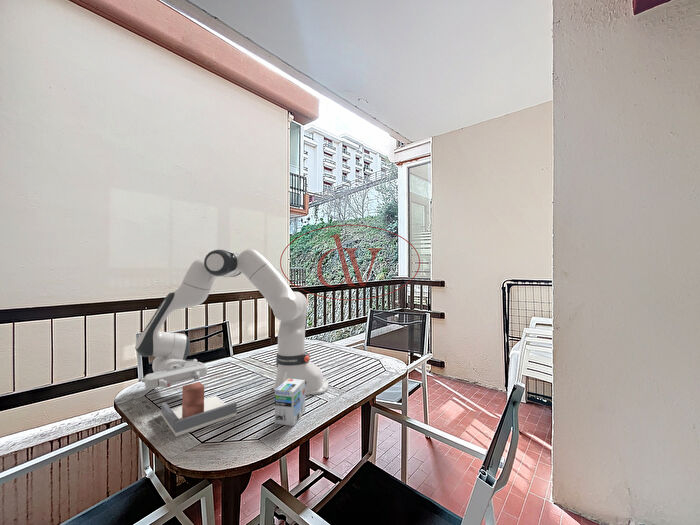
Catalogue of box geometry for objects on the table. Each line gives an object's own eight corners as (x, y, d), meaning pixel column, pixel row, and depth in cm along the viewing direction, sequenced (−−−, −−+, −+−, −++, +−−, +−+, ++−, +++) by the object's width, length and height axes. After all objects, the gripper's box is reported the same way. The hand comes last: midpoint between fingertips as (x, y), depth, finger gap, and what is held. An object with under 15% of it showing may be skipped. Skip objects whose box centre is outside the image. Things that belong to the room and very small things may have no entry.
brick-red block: (198, 412, 100) (199, 381, 100) (203, 417, 96) (204, 386, 96) (182, 417, 96) (182, 385, 96) (186, 422, 93) (187, 390, 93)
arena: (216, 398, 112) (216, 387, 112) (236, 415, 99) (236, 403, 100) (160, 414, 100) (160, 402, 100) (175, 436, 87) (176, 422, 87)
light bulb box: (293, 426, 92) (294, 391, 93) (273, 424, 94) (273, 389, 94) (305, 410, 103) (305, 379, 103) (287, 408, 104) (287, 377, 104)
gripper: (140, 370, 108) (148, 379, 98) (200, 358, 122) (212, 365, 112) (139, 387, 108) (148, 399, 98) (200, 373, 122) (212, 382, 112)
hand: (183, 381), depth 105 cm, fingers open, 8 cm apart
